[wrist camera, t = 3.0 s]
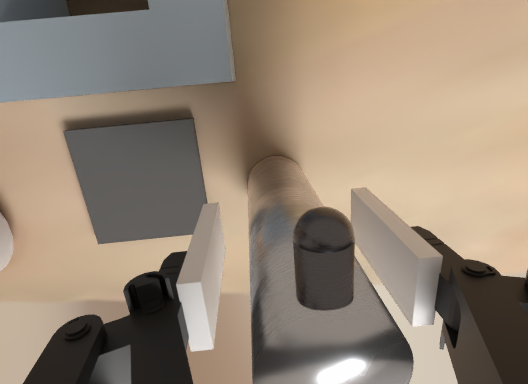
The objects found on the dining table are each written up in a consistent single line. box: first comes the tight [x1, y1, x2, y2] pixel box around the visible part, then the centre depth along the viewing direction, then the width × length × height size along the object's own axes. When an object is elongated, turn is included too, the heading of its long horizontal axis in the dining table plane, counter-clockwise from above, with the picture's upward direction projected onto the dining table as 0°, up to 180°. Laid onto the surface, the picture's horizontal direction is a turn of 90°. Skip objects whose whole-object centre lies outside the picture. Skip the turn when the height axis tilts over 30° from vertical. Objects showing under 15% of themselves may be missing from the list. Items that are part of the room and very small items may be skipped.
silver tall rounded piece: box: [248, 156, 413, 384], centre depth 15 cm, size 4×8×15 cm, turn 5°
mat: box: [63, 118, 207, 244], centre depth 21 cm, size 8×8×1 cm
